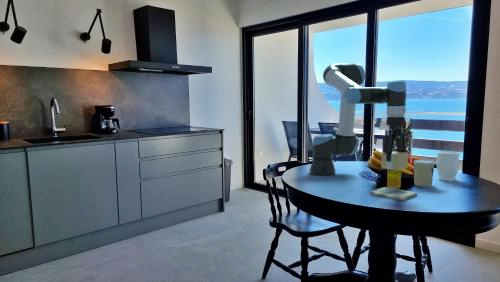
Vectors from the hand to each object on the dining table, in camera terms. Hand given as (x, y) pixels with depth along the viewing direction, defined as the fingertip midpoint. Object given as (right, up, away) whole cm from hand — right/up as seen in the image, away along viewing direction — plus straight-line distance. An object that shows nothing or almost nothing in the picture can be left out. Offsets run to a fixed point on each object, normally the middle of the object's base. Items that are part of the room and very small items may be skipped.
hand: (394, 167), depth 148 cm
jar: (+42, -9, +31) cm, 53 cm away
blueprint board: (0, -12, +1) cm, 13 cm away
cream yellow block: (0, 0, 0) cm, 0 cm away
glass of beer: (+6, -11, +15) cm, 19 cm away
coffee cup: (+23, -11, +19) cm, 32 cm away
